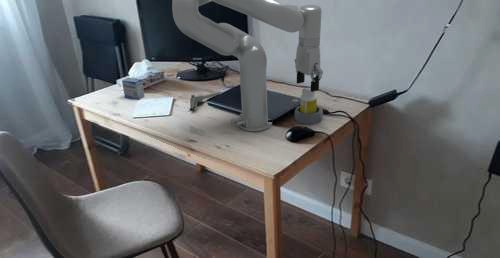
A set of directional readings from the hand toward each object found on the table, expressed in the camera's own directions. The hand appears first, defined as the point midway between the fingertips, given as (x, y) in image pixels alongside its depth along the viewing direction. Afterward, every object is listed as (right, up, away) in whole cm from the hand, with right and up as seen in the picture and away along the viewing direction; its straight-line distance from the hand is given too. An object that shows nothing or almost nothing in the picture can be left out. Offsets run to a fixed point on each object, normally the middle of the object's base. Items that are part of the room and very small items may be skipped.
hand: (307, 86), depth 157 cm
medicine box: (-74, -2, +35) cm, 82 cm away
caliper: (-40, -4, +27) cm, 49 cm away
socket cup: (+1, -12, +6) cm, 13 cm away
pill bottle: (+1, -11, +6) cm, 13 cm away
